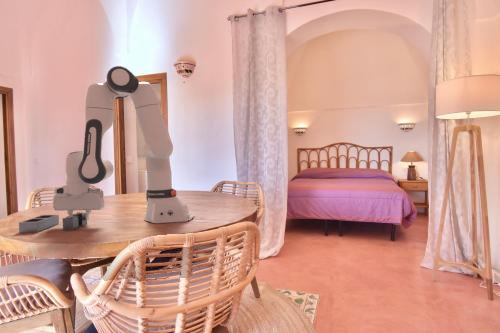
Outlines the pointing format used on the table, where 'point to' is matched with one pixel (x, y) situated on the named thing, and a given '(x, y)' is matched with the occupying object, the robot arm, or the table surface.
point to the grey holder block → (38, 223)
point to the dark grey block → (70, 223)
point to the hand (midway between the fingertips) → (79, 220)
